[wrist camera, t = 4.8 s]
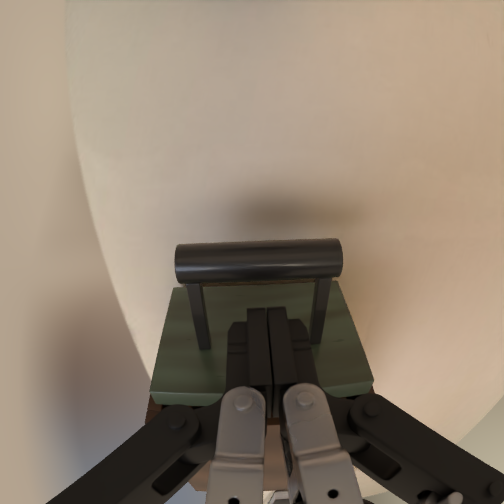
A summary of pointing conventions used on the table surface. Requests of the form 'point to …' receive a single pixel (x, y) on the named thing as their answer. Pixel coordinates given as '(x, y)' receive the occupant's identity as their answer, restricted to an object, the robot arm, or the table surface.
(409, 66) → the table surface
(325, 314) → the drawer
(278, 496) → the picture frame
